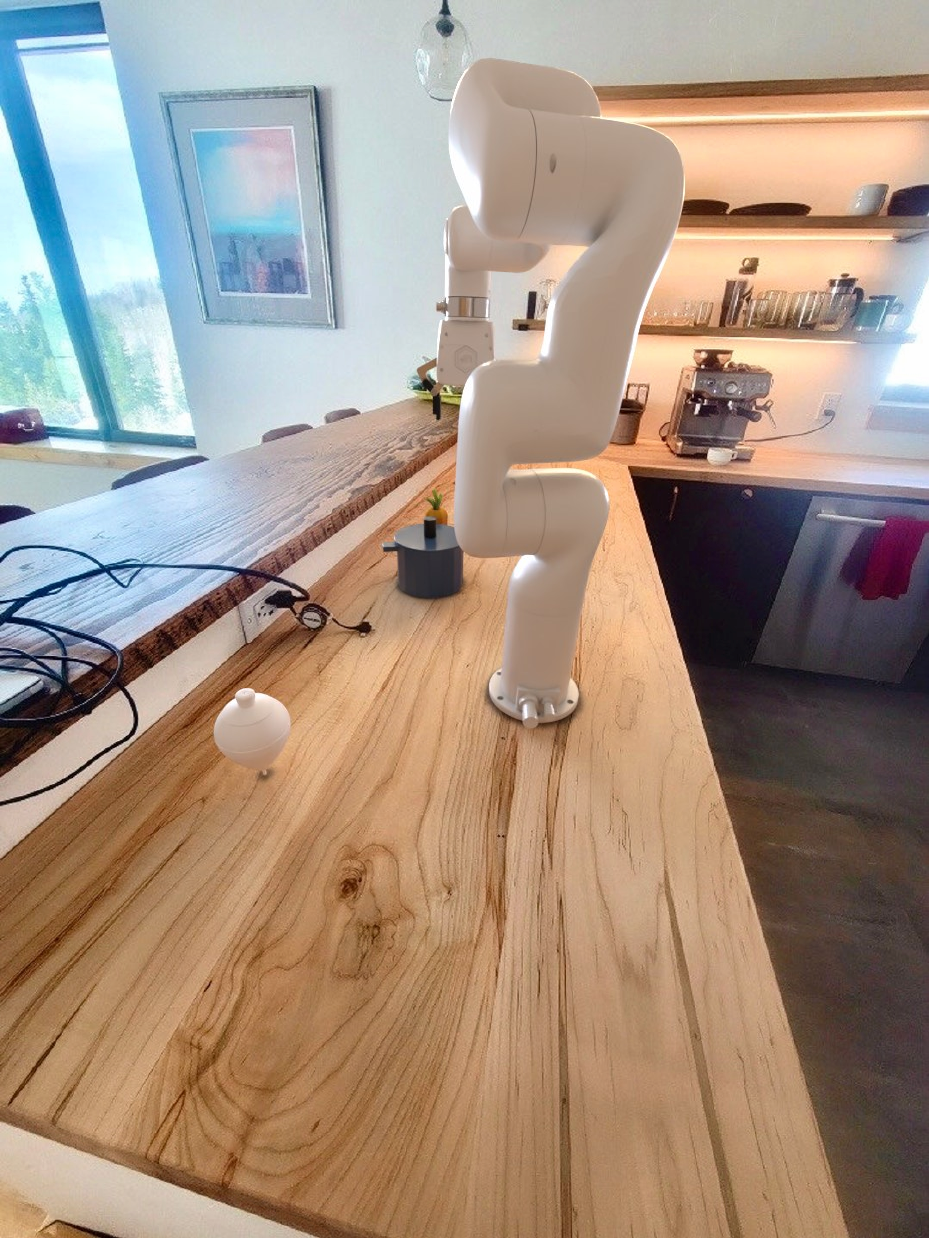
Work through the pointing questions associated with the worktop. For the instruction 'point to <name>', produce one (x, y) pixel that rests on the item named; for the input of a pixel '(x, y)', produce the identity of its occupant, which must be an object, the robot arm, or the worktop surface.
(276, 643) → the worktop surface
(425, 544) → the pot lid
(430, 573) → the pot
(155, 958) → the worktop surface
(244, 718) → the spinning top
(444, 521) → the carrot
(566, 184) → the robot arm
